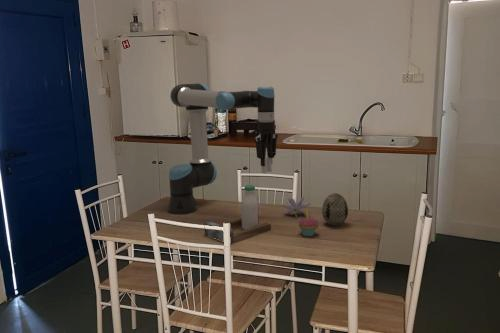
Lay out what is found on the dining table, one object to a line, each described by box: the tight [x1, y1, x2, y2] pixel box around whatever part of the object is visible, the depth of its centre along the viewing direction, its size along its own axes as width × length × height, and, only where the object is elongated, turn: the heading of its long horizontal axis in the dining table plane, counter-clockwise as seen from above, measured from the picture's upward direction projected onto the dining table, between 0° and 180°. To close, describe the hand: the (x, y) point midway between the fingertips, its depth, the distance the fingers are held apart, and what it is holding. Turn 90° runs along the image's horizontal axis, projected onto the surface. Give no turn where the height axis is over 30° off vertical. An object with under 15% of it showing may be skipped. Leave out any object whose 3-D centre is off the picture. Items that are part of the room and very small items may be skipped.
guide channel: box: [204, 217, 272, 245], centre depth 199 cm, size 16×25×6 cm, turn 134°
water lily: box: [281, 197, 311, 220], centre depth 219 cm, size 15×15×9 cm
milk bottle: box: [241, 184, 260, 231], centre depth 202 cm, size 8×8×20 cm
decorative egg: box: [321, 192, 349, 227], centre depth 206 cm, size 12×12×15 cm
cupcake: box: [298, 206, 320, 237], centre depth 194 cm, size 9×8×12 cm
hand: (266, 172), depth 207 cm, fingers open, 3 cm apart
